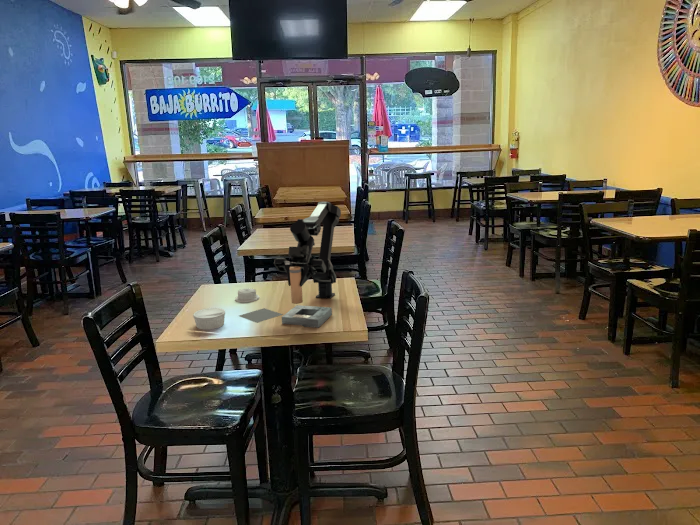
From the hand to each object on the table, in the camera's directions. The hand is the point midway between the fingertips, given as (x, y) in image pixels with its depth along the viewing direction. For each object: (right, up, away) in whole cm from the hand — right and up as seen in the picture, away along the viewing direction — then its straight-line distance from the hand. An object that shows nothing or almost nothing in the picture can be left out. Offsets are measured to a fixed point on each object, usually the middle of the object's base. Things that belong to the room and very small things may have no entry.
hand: (294, 285), depth 191 cm
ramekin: (-30, -15, +1) cm, 34 cm away
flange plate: (+4, -13, +4) cm, 14 cm away
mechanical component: (-23, -8, +31) cm, 40 cm away
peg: (+1, -6, +3) cm, 7 cm away
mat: (-14, -12, +10) cm, 21 cm away
